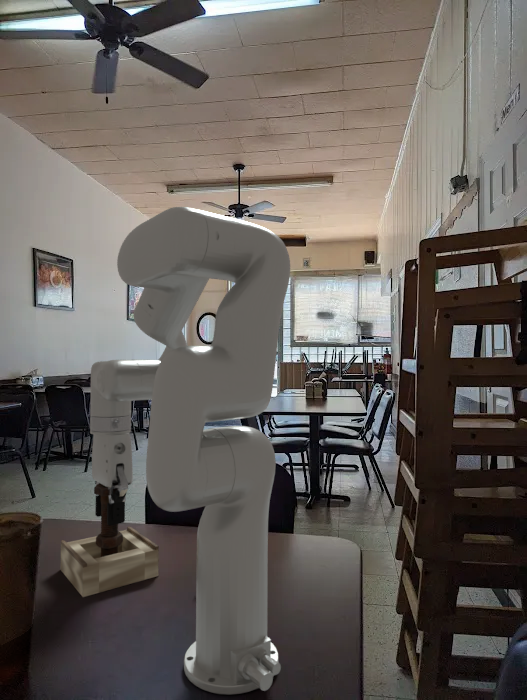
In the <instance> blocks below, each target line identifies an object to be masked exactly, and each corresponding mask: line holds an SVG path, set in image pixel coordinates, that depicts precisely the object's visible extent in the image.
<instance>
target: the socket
mask: <svg viewBox="0 0 527 700" xmlns="http://www.w3.org/2000/svg"><path fill="white" fill-rule="evenodd" d="M118 531H119V532H121V533H122V535H123V542H122V543H121V544H120V545H119V546H118V553H116V554H112V555H108V556H104V557H101V548H100V547H98V546H97V545H96V537H97V536H98V535H96V536H91V537H87V538H82V539H77V540H76V539H75V540H72V541H68V542H67V541H66V540H64V539H63V540H60V571H61V572H62V573H63V575H64V576H65V577H66V578H67V580H68V581H69V582H70V584H72V586H73V587H74V588H75V589H76V591H77V592H78V593H79V594H80V595H81V597H82V598H85V597H89V596H92V595H95V594H99V593H103V592H106V591H110V590H114V589H117V588H120V587H121V588H122V587H123V586H124V587H125V586H128V585H130V584H134V583H139V582H142V581H145V580H148V579H152V578H155V577H159V560H160V559H159V557H160V556H159V555H160V554H159V553H160V551H159V545H158V544H156V543H155V542H154V541H152V540H150V539H149V538H148V537H146V536H145V535H143V534H142V533H140V532H139V531H138V530H136V529H135V528H133V527H132V526H127V527H126V529H124V530H118Z"/></svg>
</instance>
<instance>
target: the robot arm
mask: <svg viewBox="0 0 527 700" xmlns="http://www.w3.org/2000/svg"><path fill="white" fill-rule="evenodd" d="M118 251H119V252H118V254H117V259H116V260H117V262H116V264H117V265H116V266H117V272H118V275H119V277H120V279H121V280H122V281H123V282H124V284H126V285H129V286H132V287H136V288H137V287H138V288H143V290H142V292H141V294H140V296H139V299H138V301H137V303H136V306H135V307H134V311H133V320H134V322H135V324H136V326H137V327H138V328H139V329H140V330H141V331H142V333H144V334H145V335H147V336H148V337H150V338H151V339H153V340H155V341H157V342H158V343H160V344H162V345H164V346H165V347H164V349H163V352H162V354H161V356H160V357H159V358H158V359H112V360H105V361H103V360H101V361H100V360H99V361H96V362H94V363H93V364H92V365H91V368H90V408H89V409H90V410H89V411H90V417H89V419H90V420H89V429H90V431H89V433H90V434H91V435H93V438H92V448H91V449H92V452H91V453H92V454H91V474H92V475H91V477H92V479H93V480H94V481H95V482H94V484H95V486H96V485H97V484H99V483H100V484H102V485H104V486H106V487H108V495H109V503H107V524H108V525H114V524H118V525H119V524H123V523H125V521H126V519H125V518H126V517H125V516H126V515H125V514H126V499H127V497H126V495H127V493H128V490H129V486H130V485H132V483H133V481H134V477H133V474H134V473H133V451H132V449H133V448H132V441H131V440H132V439H131V435H130V433H131V432H132V402H133V401H134V402H135V401H147V400H148V401H149V400H150V401H151V403H150V412H149V413H150V414H149V416H150V417H149V424H148V425H149V426H148V436H147V437H148V438H147V448H146V461H145V475H146V477H145V478H146V486H147V490H148V493H149V495H150V496H149V497H150V498H151V499H152V502H154V504H155V505H156V506H157V507H158V508H160V509H162V510H163V511H166V512H171V513H172V512H174V513H177V512H183V511H188V510H194V509H199V508H202V507H204V509H203V511H202V515H201V516H200V519H199V524H198V527H197V533H196V572H195V573H196V574H195V576H196V578H195V579H196V580H195V582H196V584H195V585H196V587H195V588H196V589H195V592H196V595H195V596H196V599H195V600H196V601H195V604H196V606H195V614H196V615H195V618H196V619H195V641H194V642H193V643H192V644H191V645H190V646H189V647H188V649H187V650H186V652H185V654H184V657H183V670H184V674H185V676H186V677H187V679H188V680H189V682H191V683H192V684H193V685H194V686H195V687H198V688H199V689H201V690H203V691H206V692H209V693H213V694H217V695H239V694H244V693H249V692H253V691H255V690H258V689H260V690H261V691H264V692H266V691H268V690H269V689H270V688H271V686H272V685H273V679H274V676H277V675H279V674H280V672H281V668H282V666H281V663H280V662H279V659H280V658H279V656H280V655H279V652H278V649H277V647H276V646H275V645H274V643H272V642H271V641H272V639H271V638H270V637H268V552H269V550H268V546H269V545H268V542H269V541H268V539H269V535H268V534H269V514H270V513H269V511H270V504H271V503H270V502H271V501H270V500H271V496H272V495H271V494H272V492H273V491H272V490H273V485H274V481H275V475H276V465H277V464H276V462H277V461H276V460H277V459H276V454H275V450H274V446H273V444H272V442H271V440H270V438H268V436H267V435H266V434H264V432H262V431H261V430H259V429H257V428H254V427H251V426H246V425H229V426H221V427H219V426H218V427H212V428H211V427H210V428H206V429H205V425H206V424H207V423H214V422H221V421H223V422H224V421H231V420H239V419H247V418H253V417H255V416H259V415H261V414H262V413H264V412H265V411H266V409H267V408H268V406H269V404H270V402H271V398H272V394H273V388H274V387H273V386H274V380H275V379H274V378H275V371H276V361H277V351H278V343H279V333H280V332H279V330H280V322H281V316H282V312H283V306H284V304H285V299H286V295H287V291H288V288H289V283H290V278H291V260H290V255H289V251H288V249H287V246H286V244H285V242H284V241H283V240H282V238H280V237H279V235H277V234H276V233H274V232H273V231H271V230H270V229H267V228H266V227H263V226H261V225H259V224H255V223H252V222H250V221H249V222H248V221H245V220H242V219H238V218H234V217H230V216H225V215H221V214H217V213H213V212H209V211H206V210H201V209H198V208H197V209H196V208H193V207H188V206H176V207H175V206H174V207H170V208H168V209H166V210H163V211H162V212H159V213H158V214H156V215H154V216H152V217H151V218H148V219H147V220H145V221H144V222H142V223H141V224H139V225H138V226H136V227H135V228H133V229H132V230H131V231H130V232H129V233H128V234H127V236H126V237H125V238H124V240H123V241H122V244H121V245H120V248H119V250H118ZM210 280H219V281H229V282H233V283H234V285H232V286H231V288H229V290H228V291H227V292H226V294H225V295H224V297H223V299H222V300H221V301H220V304H219V305H218V307H217V309H216V314H215V320H214V331H213V338H212V342H211V344H210V346H209V345H207V346H205V345H188V343H187V341H186V337H185V335H184V333H183V329H184V327H185V325H186V323H187V322H188V319H189V318H190V316H191V314H192V312H193V310H194V309H195V306H196V304H197V303H198V301H199V299H200V298H201V295H202V293H203V291H204V290H205V288H206V286H207V283H208V282H209V281H210ZM115 482H118V485H114V486H112V485H113V484H112V483H115ZM113 489H118V490H116V491H115V493H114V495H113ZM101 507H102V506H101V496H100V495H97V494H95V516H96V517H101V516H102V515H101Z"/></svg>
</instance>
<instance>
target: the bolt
mask: <svg viewBox="0 0 527 700" xmlns="http://www.w3.org/2000/svg"><path fill="white" fill-rule="evenodd" d="M112 484H113V485H112V486H114V485H118V482H115V483H112ZM116 490H118V489H113V495H114V493H115V491H116ZM93 494H95V495H96V494H97V495H96V496H98V495H100V496H101V506H102V507H101V515H102V516H100V520H101V521H100V533H99V534H98V535H96V536H97V537H96V545H97V546H98V547H100V548H101V557H104V556H108V555H112V554H116V553H118V546H119V545H120V544H121V543H122V542H123V535H122V533H121V532H119V531H120V530H119V524H114V525H108V524H107V503H109V495H108V487H106V486H104V485H102V484H100V483H99V484H97V485H96V484H95V486H94V488H93Z"/></svg>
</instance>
